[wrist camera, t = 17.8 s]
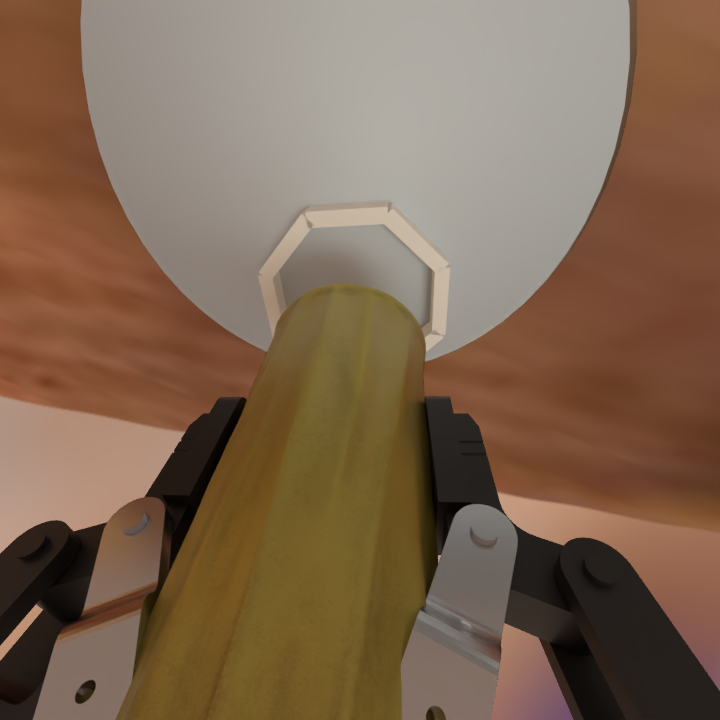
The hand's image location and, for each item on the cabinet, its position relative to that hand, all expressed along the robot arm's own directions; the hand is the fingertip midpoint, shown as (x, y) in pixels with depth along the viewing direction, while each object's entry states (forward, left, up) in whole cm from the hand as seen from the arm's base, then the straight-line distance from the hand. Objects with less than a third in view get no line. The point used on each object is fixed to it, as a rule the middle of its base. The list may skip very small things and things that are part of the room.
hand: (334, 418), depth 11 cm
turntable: (0, -6, -11) cm, 12 cm away
